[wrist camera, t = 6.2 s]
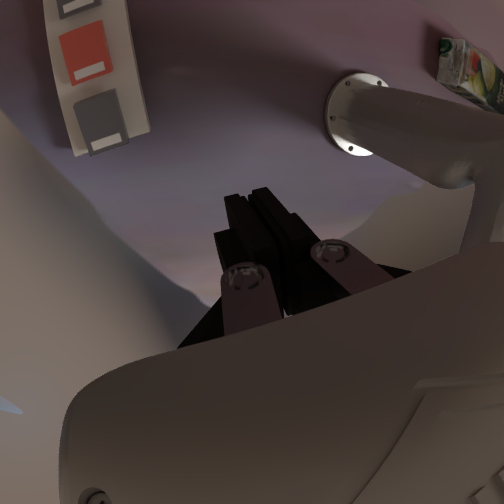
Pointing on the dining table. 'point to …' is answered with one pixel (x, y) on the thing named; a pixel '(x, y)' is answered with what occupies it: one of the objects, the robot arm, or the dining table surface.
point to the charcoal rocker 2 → (101, 122)
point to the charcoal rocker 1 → (75, 7)
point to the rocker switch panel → (120, 78)
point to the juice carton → (471, 75)
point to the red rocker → (86, 52)
